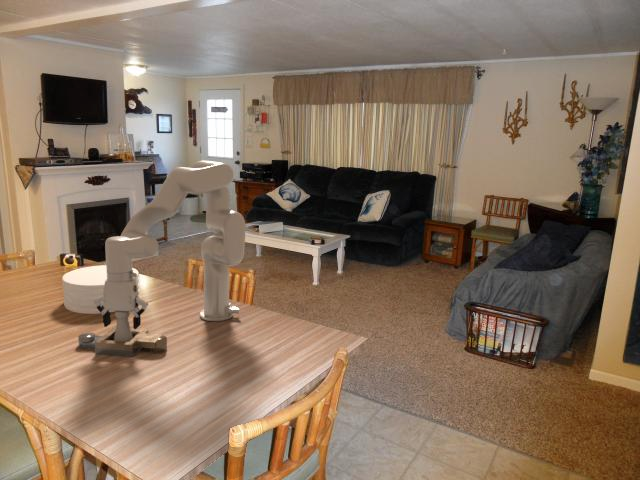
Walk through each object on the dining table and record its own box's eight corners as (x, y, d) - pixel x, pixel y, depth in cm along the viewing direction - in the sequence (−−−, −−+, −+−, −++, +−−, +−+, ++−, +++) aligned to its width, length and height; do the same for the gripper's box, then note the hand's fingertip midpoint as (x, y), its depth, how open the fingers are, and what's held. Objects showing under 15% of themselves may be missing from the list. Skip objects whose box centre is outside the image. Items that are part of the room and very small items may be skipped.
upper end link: (173, 342, 159) (173, 331, 158) (159, 358, 147) (158, 347, 147) (114, 338, 160) (113, 327, 159) (95, 354, 149) (94, 342, 148)
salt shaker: (114, 352, 150) (112, 314, 148) (113, 344, 155) (111, 307, 152) (134, 349, 153) (132, 311, 150) (132, 342, 158) (130, 305, 155)
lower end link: (148, 340, 160) (148, 332, 159) (132, 356, 148) (132, 348, 147) (89, 336, 161) (89, 328, 160) (69, 352, 149) (68, 343, 148)
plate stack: (153, 300, 198) (153, 273, 195) (90, 319, 175) (89, 290, 172) (113, 286, 212) (111, 261, 210) (50, 302, 189) (47, 275, 187)
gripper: (151, 274, 152) (153, 323, 156) (99, 270, 153) (102, 320, 157) (141, 281, 145) (143, 333, 148) (86, 277, 146) (89, 329, 149)
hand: (122, 326), depth 152 cm, fingers open, 9 cm apart
